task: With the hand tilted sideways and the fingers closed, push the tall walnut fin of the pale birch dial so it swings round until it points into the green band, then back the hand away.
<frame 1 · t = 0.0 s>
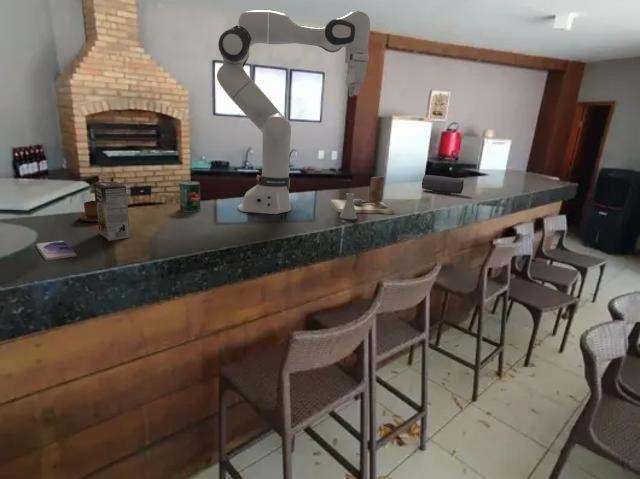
hand: (353, 95, 160), 48 cm above the counter, tool pointing down, fingers open, 8 cm apart
coffee box: (114, 236, 122), on the counter
bluetooth speaker: (441, 193, 238), on the counter
dial board: (360, 208, 182), on the counter
cup and saucer: (98, 220, 138), on the counter
smartphone: (55, 252, 107), on the counter
flask: (348, 218, 163), on the counter
canned tomato: (190, 210, 160), on the counter
dial fin: (369, 190, 182), point 8 cm above the counter, hinge at 25.0°
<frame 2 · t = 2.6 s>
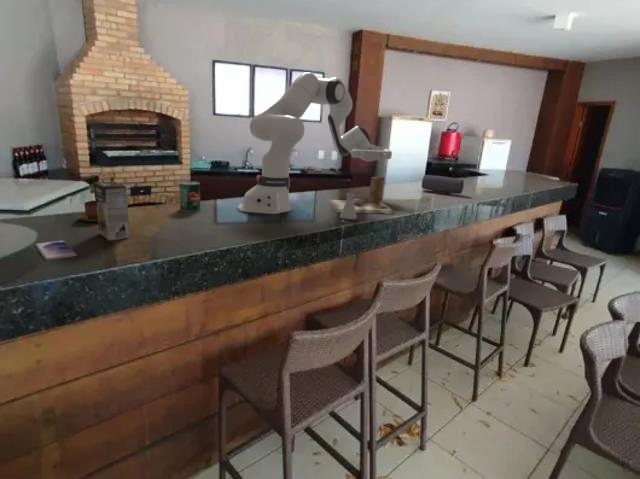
hand: (374, 155, 191), 23 cm above the counter, tool horizontal, fingers open, 8 cm apart
nothing on the counter moved.
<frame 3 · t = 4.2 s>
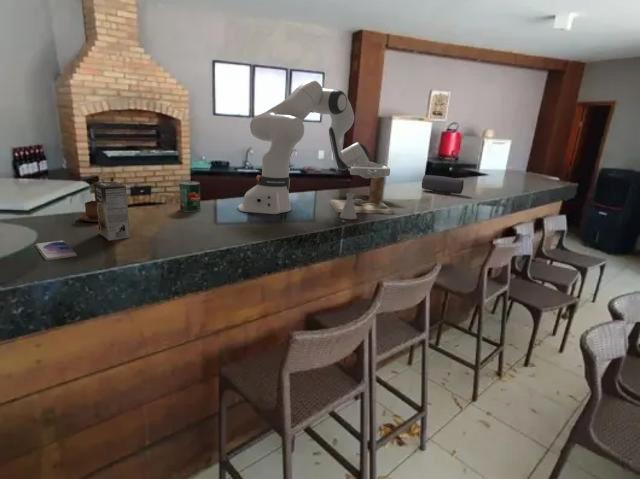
hand: (373, 173, 193), 14 cm above the counter, tool horizontal, fingers closed
nothing on the counter moved.
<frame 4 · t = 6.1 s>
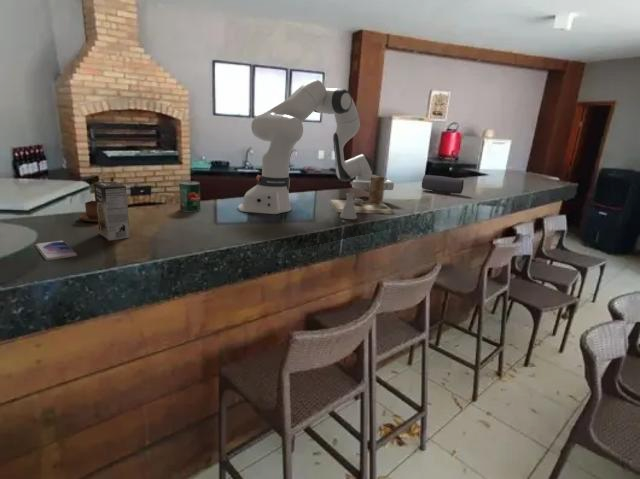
hand: (376, 187, 186), 9 cm above the counter, tool horizontal, fingers closed
dial fin: (369, 190, 182), point 8 cm above the counter, hinge at 24.7°, touching gripper
everything else where it was.
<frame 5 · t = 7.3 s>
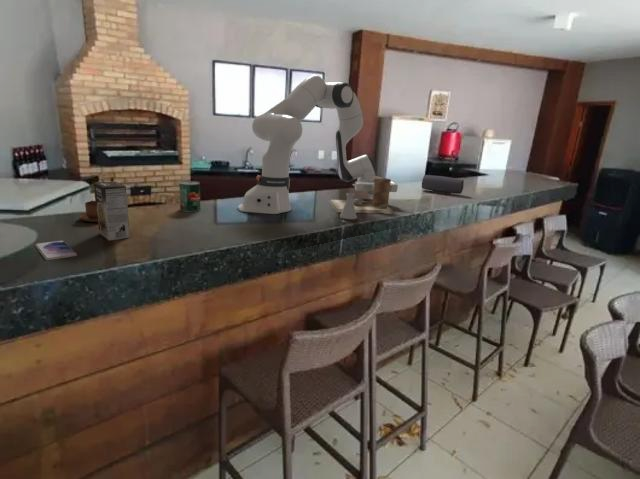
hand: (380, 189, 181), 9 cm above the counter, tool horizontal, fingers closed
dial fin: (371, 191, 180), point 8 cm above the counter, hinge at -3.7°, touching gripper
everything else where it was.
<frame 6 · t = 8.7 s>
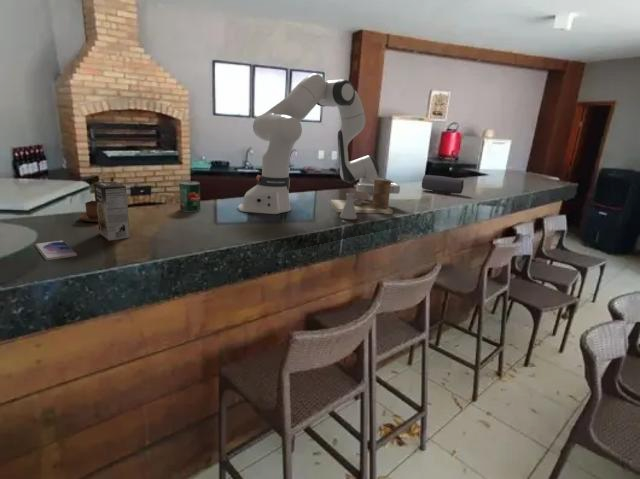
hand: (382, 191, 177), 9 cm above the counter, tool horizontal, fingers closed
dial fin: (371, 192, 177), point 8 cm above the counter, hinge at -28.8°, touching gripper
everything else where it was.
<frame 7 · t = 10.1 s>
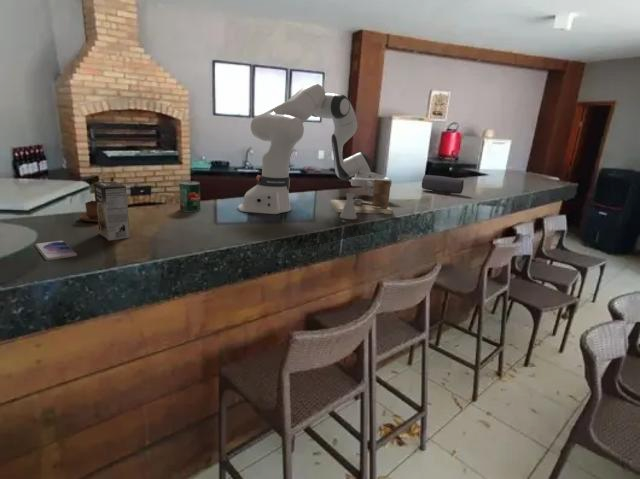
hand: (374, 184, 191), 9 cm above the counter, tool horizontal, fingers closed
dial fin: (371, 192, 177), point 8 cm above the counter, hinge at -28.8°
everything else where it was.
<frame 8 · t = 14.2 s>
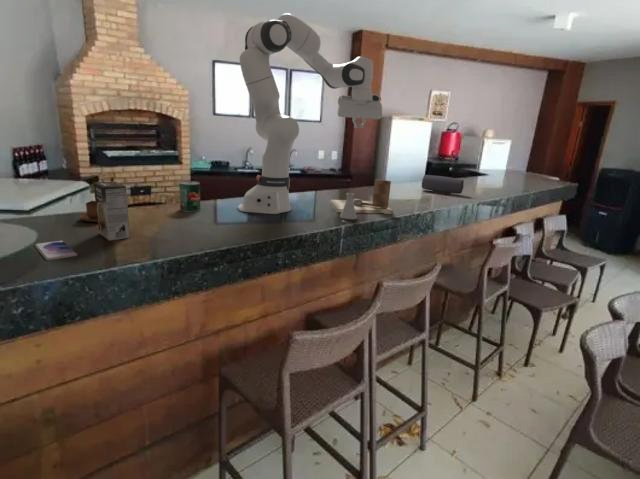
hand: (358, 128, 182), 35 cm above the counter, tool pointing down, fingers closed
nothing on the counter moved.
at the end: dial fin at -29° (first picture: +25°); flask moved 0.3 cm from its start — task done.
